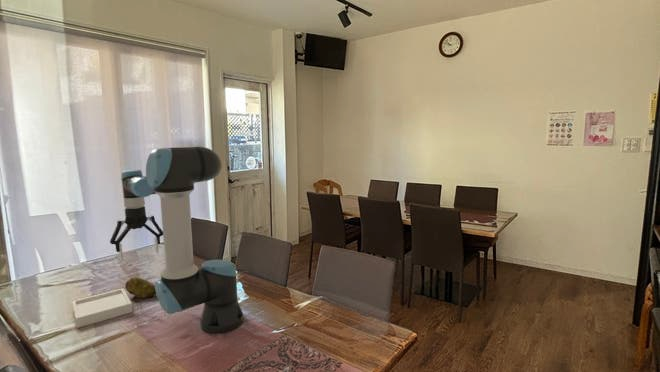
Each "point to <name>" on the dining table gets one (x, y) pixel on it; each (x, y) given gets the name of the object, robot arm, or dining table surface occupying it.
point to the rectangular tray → (101, 307)
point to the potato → (140, 287)
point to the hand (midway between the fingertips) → (139, 255)
